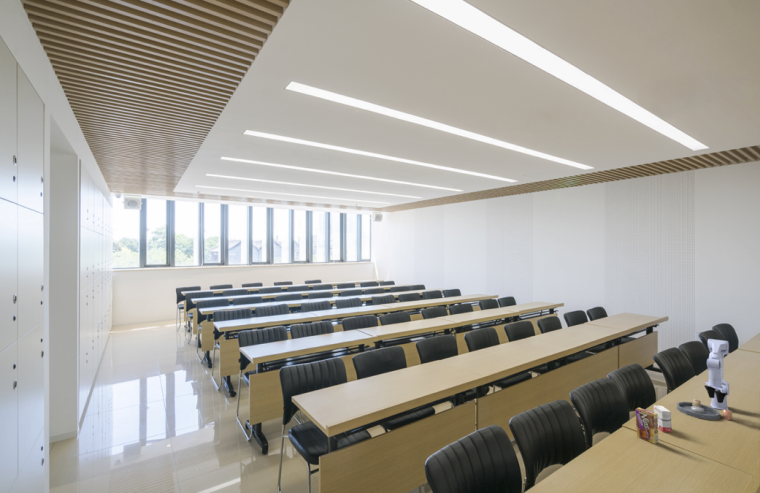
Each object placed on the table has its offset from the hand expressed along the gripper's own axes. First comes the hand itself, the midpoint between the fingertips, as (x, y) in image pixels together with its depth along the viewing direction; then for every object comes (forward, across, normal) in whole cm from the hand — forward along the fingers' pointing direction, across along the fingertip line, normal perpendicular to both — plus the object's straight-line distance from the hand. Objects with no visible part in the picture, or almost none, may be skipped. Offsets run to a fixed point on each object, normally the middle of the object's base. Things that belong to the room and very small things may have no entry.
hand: (715, 400), depth 214 cm
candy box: (+10, +42, -56) cm, 71 cm away
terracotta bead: (+10, +4, +3) cm, 11 cm away
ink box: (+10, +27, -41) cm, 50 cm away
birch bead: (+9, -8, -6) cm, 13 cm away
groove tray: (+10, -2, -9) cm, 13 cm away
